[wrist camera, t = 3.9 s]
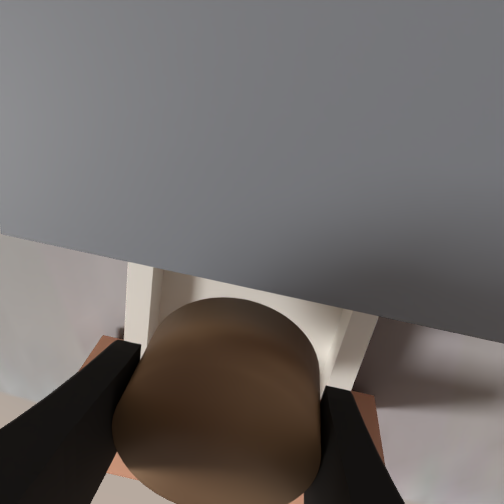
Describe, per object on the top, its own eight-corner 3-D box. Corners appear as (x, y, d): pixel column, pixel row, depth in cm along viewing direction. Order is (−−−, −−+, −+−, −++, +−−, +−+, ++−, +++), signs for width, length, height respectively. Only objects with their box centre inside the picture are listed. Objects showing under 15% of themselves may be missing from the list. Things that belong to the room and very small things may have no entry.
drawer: (460, 188, 14) (525, 264, 9) (365, 417, 18) (380, 536, 14) (107, 115, 14) (17, 156, 10) (102, 357, 19) (39, 457, 14)
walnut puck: (340, 319, 11) (346, 395, 9) (298, 446, 13) (294, 533, 11) (154, 279, 11) (115, 344, 9) (143, 411, 13) (109, 490, 11)
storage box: (603, -174, 10) (926, -392, 5) (438, 228, 15) (508, 344, 9) (123, -261, 10) (-77, -558, 5) (112, 158, 15) (0, 234, 10)
